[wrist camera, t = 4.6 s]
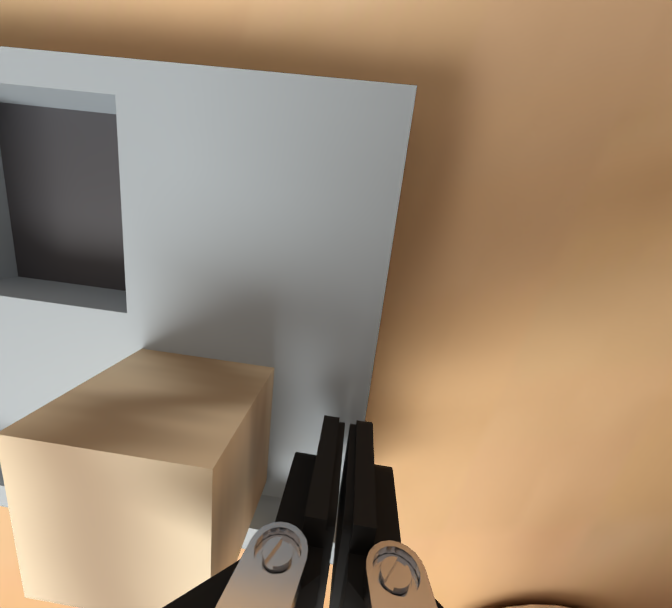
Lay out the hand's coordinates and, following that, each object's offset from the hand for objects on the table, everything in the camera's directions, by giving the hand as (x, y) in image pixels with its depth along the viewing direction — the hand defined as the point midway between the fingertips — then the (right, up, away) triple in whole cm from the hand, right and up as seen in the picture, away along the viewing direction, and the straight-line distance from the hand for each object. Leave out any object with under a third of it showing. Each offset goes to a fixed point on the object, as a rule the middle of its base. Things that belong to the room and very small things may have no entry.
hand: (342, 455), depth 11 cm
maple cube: (-5, +1, +1) cm, 5 cm away
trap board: (-11, +6, +4) cm, 13 cm away
